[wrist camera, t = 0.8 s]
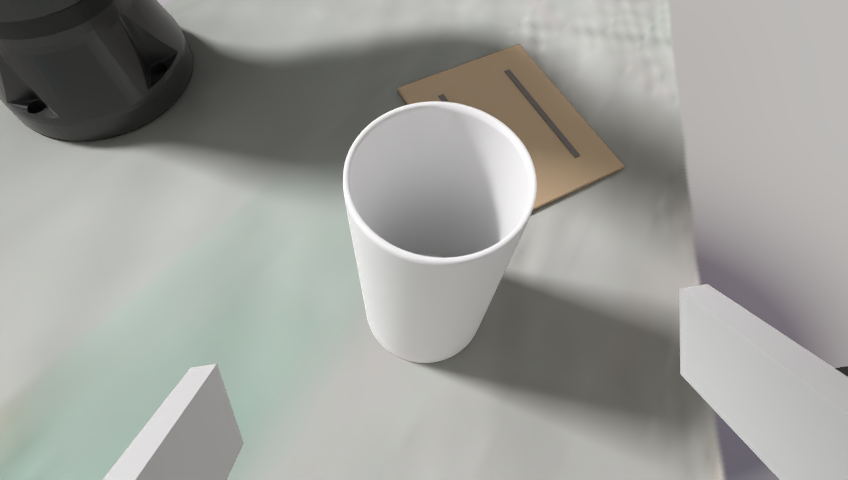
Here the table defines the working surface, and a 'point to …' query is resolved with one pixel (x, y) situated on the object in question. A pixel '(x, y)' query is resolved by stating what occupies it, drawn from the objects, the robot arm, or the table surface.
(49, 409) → the table surface
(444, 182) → the cup
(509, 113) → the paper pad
